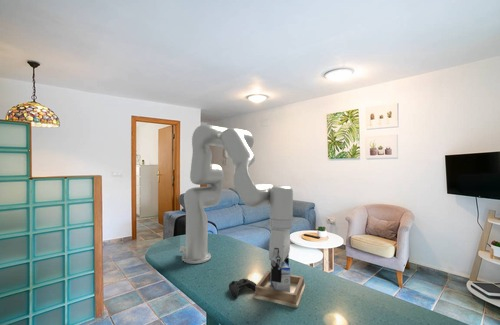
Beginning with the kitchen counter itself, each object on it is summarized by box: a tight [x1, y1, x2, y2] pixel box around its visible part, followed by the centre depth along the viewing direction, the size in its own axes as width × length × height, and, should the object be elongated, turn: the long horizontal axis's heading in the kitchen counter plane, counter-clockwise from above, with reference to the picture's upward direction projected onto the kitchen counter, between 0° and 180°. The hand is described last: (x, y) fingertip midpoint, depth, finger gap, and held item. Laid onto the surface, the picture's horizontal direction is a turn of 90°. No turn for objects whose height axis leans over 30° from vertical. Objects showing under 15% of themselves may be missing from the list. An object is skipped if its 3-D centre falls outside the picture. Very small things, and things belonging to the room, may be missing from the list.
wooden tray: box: [252, 270, 306, 309], centre depth 80 cm, size 14×14×3 cm
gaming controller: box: [228, 278, 257, 300], centre depth 81 cm, size 10×5×6 cm
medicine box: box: [270, 261, 291, 292], centre depth 80 cm, size 8×4×9 cm, turn 11°
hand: (280, 275), depth 80 cm, fingers open, 9 cm apart
